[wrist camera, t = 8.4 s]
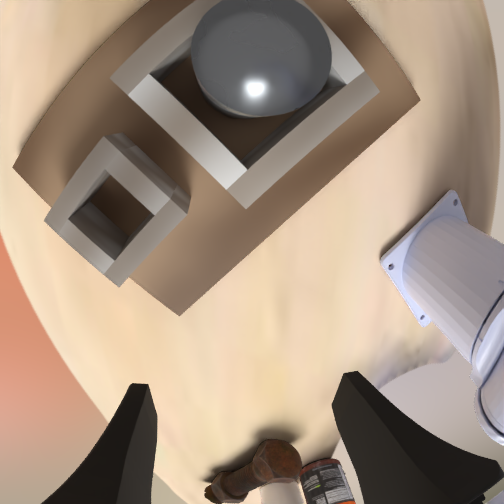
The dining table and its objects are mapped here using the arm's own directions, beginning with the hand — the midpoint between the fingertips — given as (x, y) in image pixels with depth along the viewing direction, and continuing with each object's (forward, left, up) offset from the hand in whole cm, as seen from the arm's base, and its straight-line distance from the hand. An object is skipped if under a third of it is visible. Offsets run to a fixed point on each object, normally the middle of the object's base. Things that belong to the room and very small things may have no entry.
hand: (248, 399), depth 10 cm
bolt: (-20, +18, -10) cm, 29 cm away
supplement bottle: (-30, +13, -10) cm, 34 cm away
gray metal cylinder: (+8, -8, -8) cm, 14 cm away
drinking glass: (-31, +21, -10) cm, 39 cm away
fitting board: (+8, -6, -9) cm, 14 cm away
